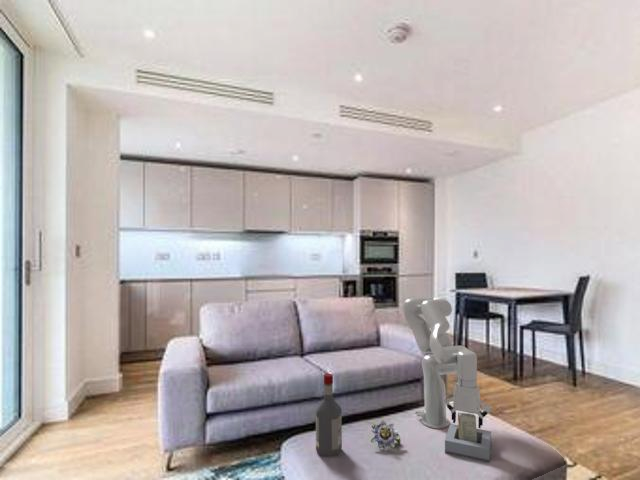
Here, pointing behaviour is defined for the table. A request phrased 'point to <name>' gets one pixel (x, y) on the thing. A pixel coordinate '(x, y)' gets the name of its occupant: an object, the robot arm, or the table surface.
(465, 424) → the skincare box
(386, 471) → the table surface
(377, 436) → the passion flower
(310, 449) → the table surface
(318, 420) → the liquor
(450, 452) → the socket block
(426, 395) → the robot arm
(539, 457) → the table surface
